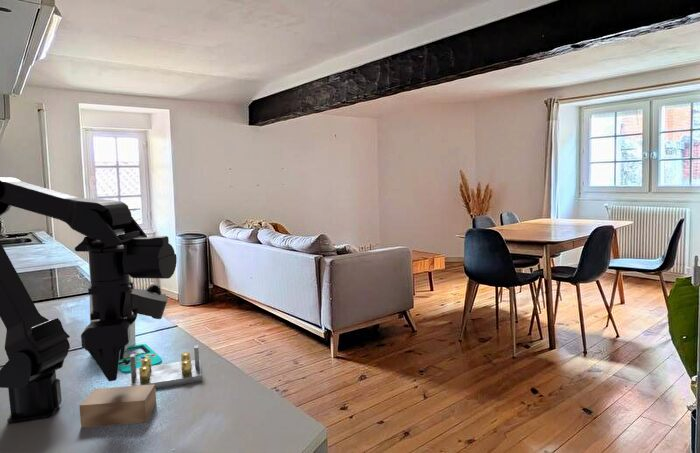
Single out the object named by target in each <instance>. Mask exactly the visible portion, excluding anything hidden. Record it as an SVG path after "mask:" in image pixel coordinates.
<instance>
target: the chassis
mask: <svg viewBox="0 0 700 453" xmlns="http://www.w3.org/2000/svg"><path fill="white" fill-rule="evenodd" d="M193 351H194V359H192V358H191V352H183V353H181V354H180V356H181V357H180V358H181V361H177V362H168V363H162V364H161V363H160V364H158V365H154V366H151V359H150V358H145V359H142V360H141V367H140V368H136V356H135V355H136V353H135V354H131V353H130V354H131V355H129V356H130V364H131V372H130V379H129V384H128V386H139V385H153V384H155V390H156V389H162V388H168V387H173V386H181V385H187V383H188V384H193V382H194V383H198V382H199V383H200V382H203V380H202V379H203V378H202V370H201V369H202V368H201V360H200V356H199V355H200V350H199V344H196V345H194V344H193Z"/></svg>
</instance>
